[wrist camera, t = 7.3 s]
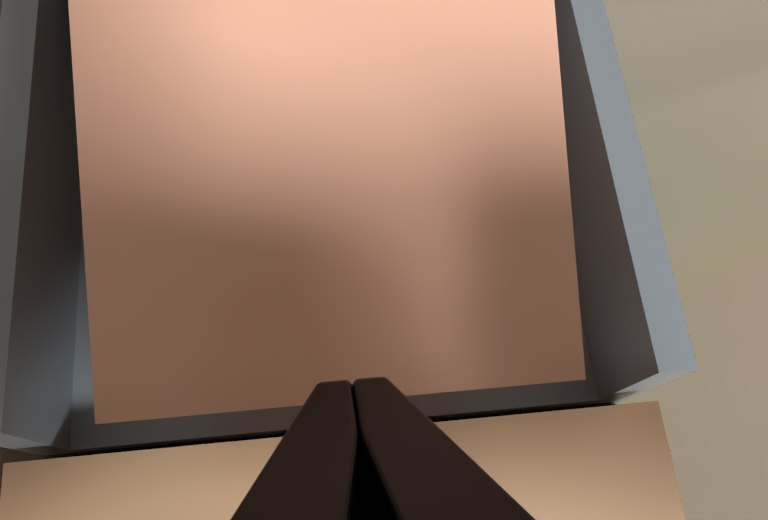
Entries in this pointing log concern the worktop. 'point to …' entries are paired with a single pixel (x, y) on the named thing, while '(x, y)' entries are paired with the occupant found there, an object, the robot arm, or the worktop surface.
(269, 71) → the terracotta block
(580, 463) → the tan wooden slab
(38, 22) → the slate tray
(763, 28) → the worktop surface
